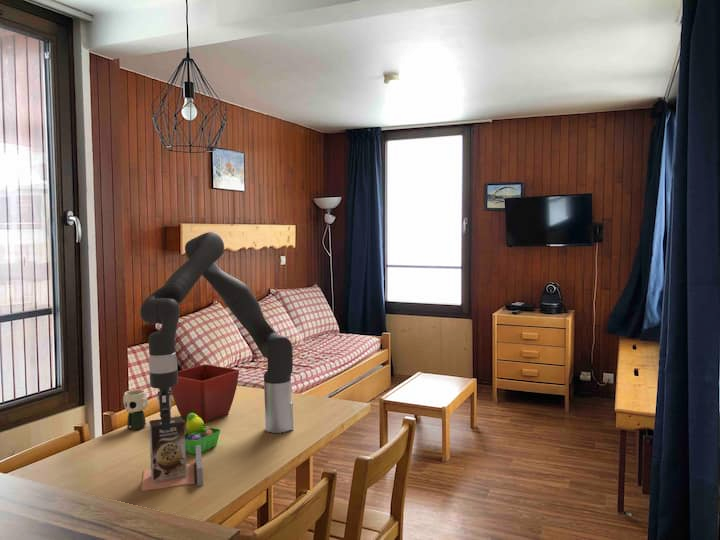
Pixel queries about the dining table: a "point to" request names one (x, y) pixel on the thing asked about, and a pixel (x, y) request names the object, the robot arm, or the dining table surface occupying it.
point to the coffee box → (167, 450)
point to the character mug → (135, 408)
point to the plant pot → (205, 391)
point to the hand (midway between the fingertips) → (166, 425)
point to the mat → (149, 485)
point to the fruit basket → (199, 434)
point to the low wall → (199, 465)
